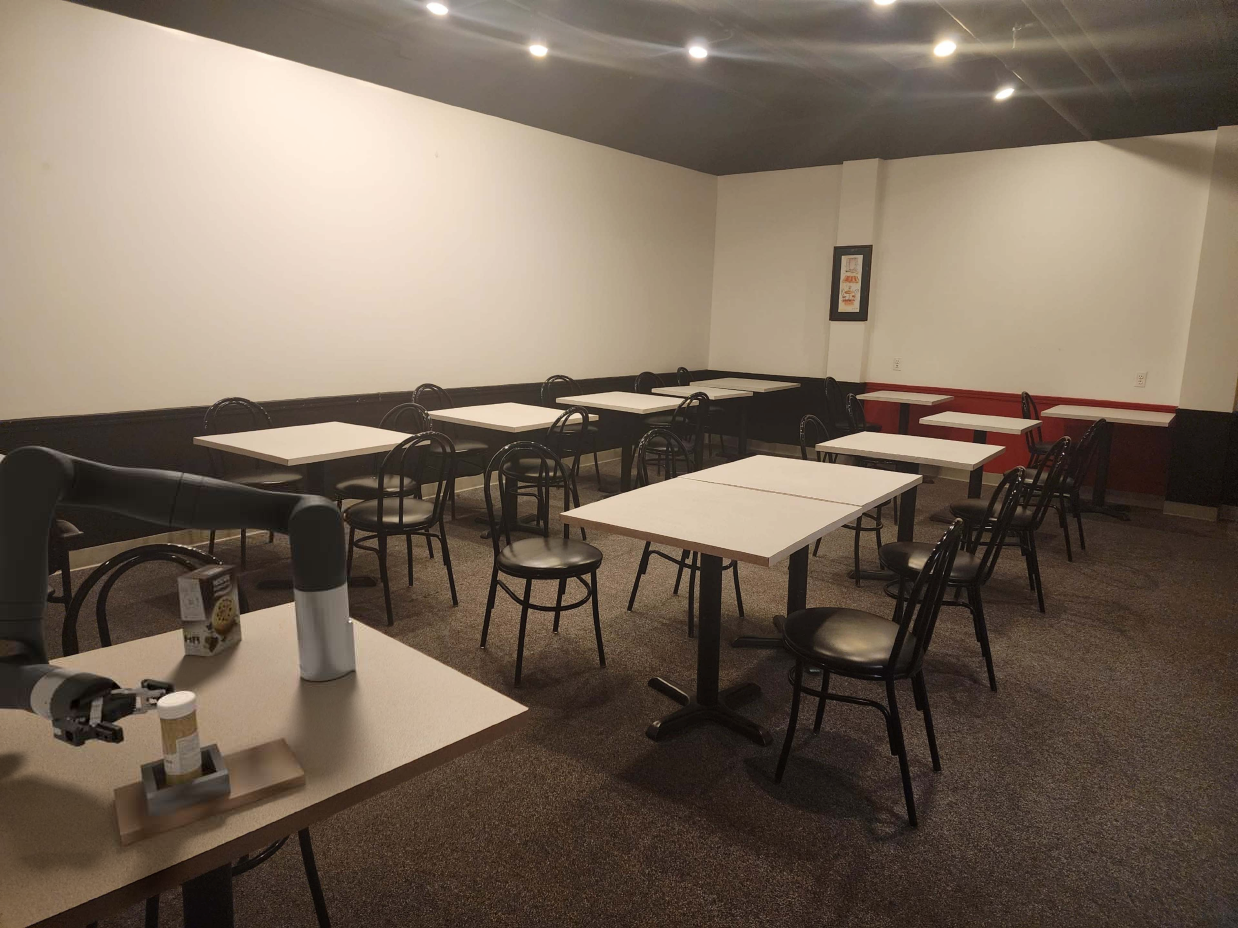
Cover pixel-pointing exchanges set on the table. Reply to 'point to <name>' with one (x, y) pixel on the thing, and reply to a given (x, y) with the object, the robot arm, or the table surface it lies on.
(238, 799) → the board
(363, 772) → the table surface
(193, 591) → the cookie box
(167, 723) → the sprinkles bottle
